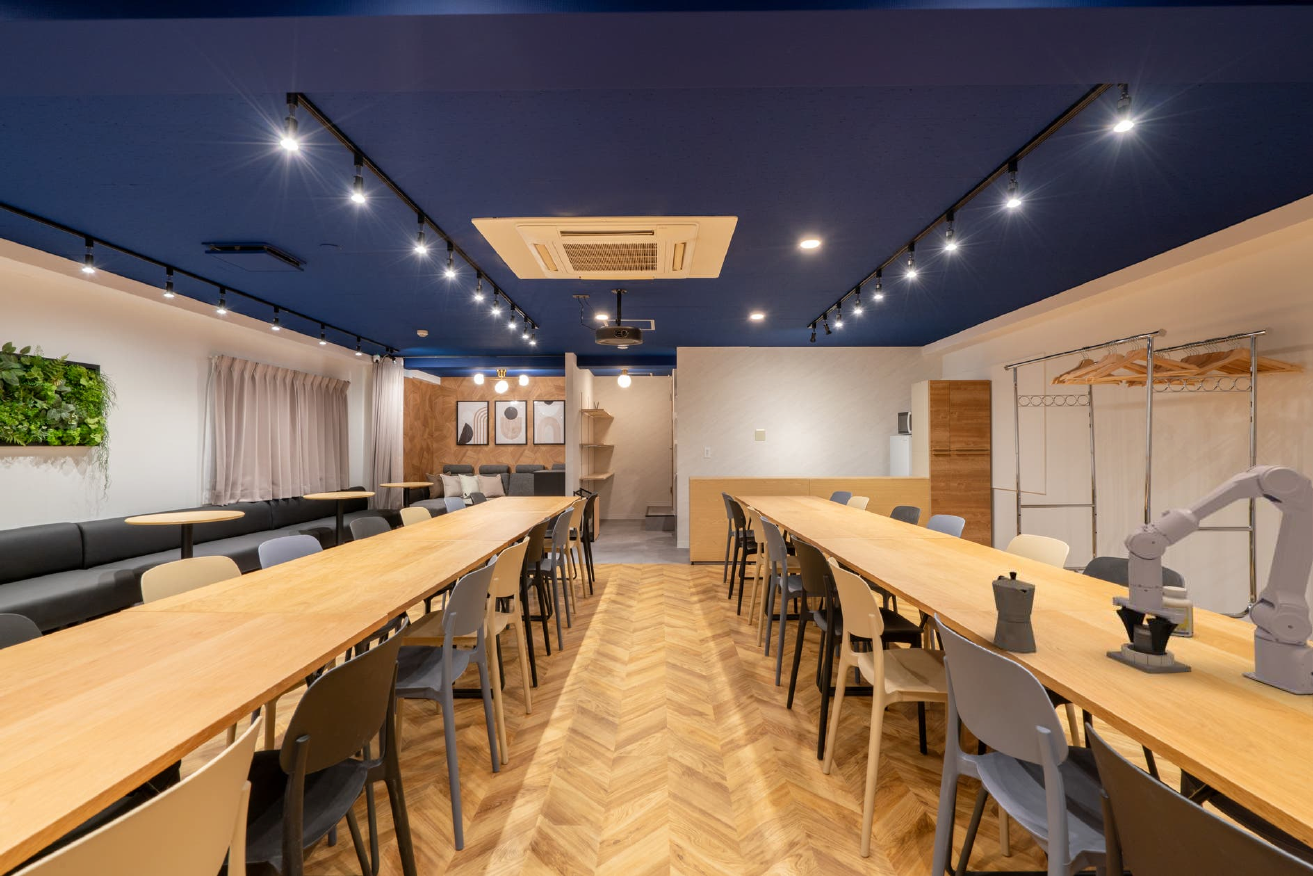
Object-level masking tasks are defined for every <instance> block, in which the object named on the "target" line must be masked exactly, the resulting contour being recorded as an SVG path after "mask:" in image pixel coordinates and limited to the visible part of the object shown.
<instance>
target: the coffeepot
mask: <svg viewBox="0 0 1313 876" xmlns="http://www.w3.org/2000/svg"><path fill="white" fill-rule="evenodd" d="M1008 573H1009V577H1006V576H1004V575H998V576H997V579H995V580H992V582H991V586H992V590H993V591H992V592H993V597H994V602H995V603H994V604H995V607H996V608H995V609H996V611H997V619H996V627H995V632H994V638H993V645H994V646H995V647H996V648H999V649H1001V650H1004V651H1008V652H1013V653H1017V652H1020V654H1032V653H1031V652H1033V653H1036V651H1037V645H1036V639H1035V635H1034V629H1033V625H1032V621H1031V617H1032V616H1031V615H1032V612H1033V605H1034V601H1035V600H1034V599H1035V598H1034V597H1035V593H1036V592H1035V591H1036V585H1035V584H1033V583H1030V582H1026V581H1023V580H1019V579H1017V575H1018V573H1017V572H1016V571H1008Z"/></svg>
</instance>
